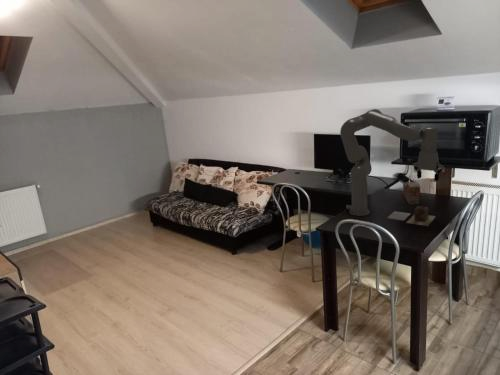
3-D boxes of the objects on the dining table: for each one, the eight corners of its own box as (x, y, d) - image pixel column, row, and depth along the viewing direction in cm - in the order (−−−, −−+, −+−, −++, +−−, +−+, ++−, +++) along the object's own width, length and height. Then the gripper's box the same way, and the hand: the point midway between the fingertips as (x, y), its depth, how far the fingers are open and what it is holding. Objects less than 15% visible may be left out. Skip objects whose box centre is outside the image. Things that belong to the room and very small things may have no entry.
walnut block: (414, 220, 225) (414, 208, 223) (417, 217, 229) (417, 205, 227) (425, 221, 221) (425, 210, 219) (427, 218, 226) (428, 207, 224)
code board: (405, 222, 222) (405, 222, 222) (414, 213, 236) (414, 213, 236) (428, 226, 215) (428, 226, 215) (435, 216, 228) (435, 216, 228)
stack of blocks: (403, 195, 273) (403, 178, 270) (412, 195, 272) (413, 178, 268) (409, 204, 253) (410, 186, 249) (419, 204, 251) (420, 186, 248)
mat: (386, 218, 232) (386, 218, 232) (394, 211, 242) (394, 211, 242) (403, 220, 225) (403, 220, 225) (410, 213, 236) (410, 213, 236)
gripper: (410, 149, 216) (409, 178, 221) (441, 151, 203) (439, 183, 207) (417, 147, 221) (416, 176, 225) (448, 149, 207) (446, 180, 212)
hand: (427, 179), depth 216 cm, fingers open, 9 cm apart
